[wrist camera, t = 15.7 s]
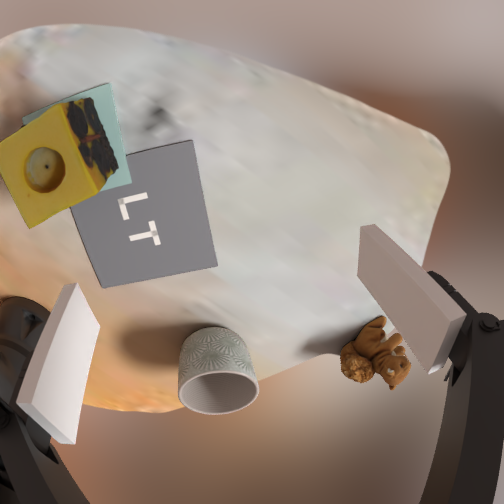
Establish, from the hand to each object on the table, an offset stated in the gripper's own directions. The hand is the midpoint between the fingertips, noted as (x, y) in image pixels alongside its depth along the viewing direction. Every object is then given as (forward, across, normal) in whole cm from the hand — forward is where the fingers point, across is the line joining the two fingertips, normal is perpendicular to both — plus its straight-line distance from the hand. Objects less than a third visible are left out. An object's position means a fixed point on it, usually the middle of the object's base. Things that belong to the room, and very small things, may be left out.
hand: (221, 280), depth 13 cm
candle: (+26, -16, +5) cm, 31 cm away
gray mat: (+27, -10, -7) cm, 29 cm away
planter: (+27, -5, -32) cm, 42 cm away
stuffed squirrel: (+27, +24, -41) cm, 55 cm away
